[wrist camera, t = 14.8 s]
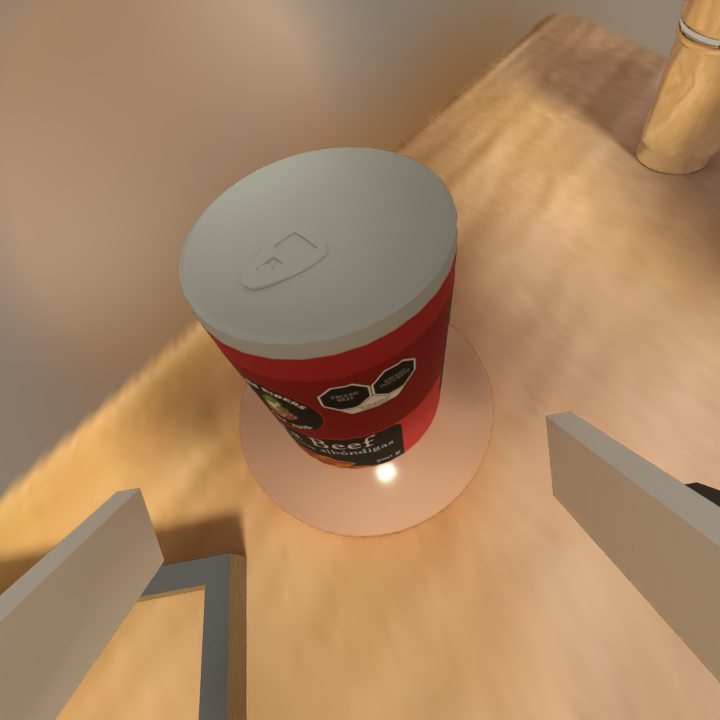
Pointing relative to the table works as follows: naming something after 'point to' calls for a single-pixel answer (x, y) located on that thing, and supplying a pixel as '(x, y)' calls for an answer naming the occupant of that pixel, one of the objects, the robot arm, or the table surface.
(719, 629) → the robot arm
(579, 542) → the table surface
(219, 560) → the square metal frame
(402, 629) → the table surface
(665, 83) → the cup with straw
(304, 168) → the canned food
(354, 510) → the terracotta plate
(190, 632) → the table surface
